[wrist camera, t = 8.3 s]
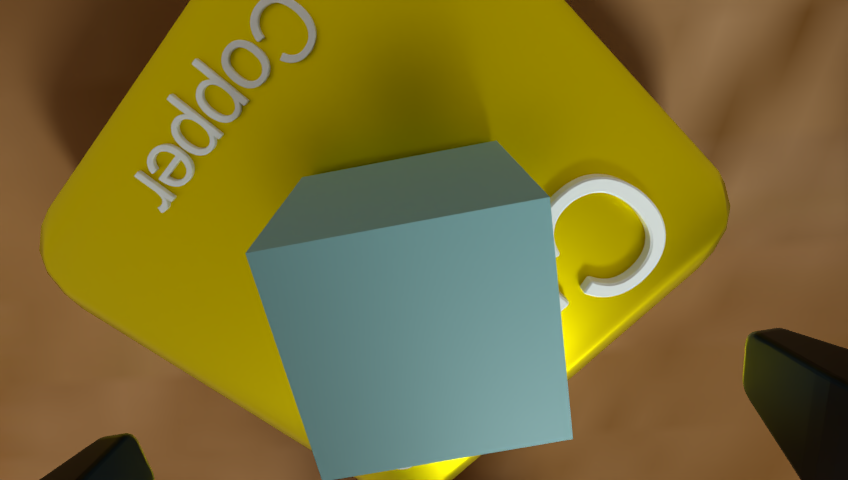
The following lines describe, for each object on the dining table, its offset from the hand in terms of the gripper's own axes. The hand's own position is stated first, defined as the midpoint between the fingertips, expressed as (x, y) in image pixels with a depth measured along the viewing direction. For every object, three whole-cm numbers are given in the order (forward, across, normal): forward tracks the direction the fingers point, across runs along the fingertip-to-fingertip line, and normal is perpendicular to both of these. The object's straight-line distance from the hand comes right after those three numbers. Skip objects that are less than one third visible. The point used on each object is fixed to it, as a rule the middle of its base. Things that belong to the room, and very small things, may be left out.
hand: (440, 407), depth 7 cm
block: (+7, 0, 0) cm, 7 cm away
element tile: (+12, +1, 0) cm, 12 cm away
